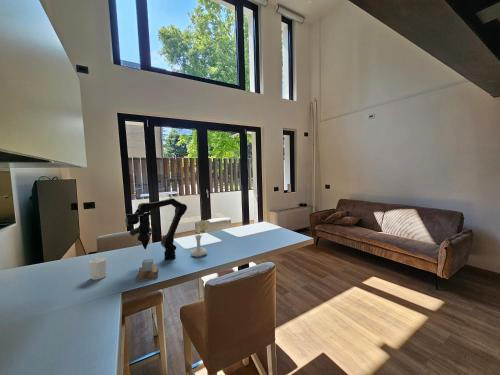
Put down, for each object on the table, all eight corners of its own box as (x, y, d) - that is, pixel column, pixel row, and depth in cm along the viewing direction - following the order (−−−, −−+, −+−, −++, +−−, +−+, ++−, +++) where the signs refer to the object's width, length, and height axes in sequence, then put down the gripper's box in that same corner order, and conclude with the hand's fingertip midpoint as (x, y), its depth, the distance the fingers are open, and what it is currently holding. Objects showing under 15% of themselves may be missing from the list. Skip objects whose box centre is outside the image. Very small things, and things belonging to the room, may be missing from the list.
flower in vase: (195, 259, 141) (193, 223, 140) (188, 255, 150) (186, 220, 148) (212, 254, 150) (210, 219, 148) (204, 250, 158) (203, 217, 157)
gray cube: (153, 266, 123) (152, 258, 123) (152, 270, 118) (151, 261, 118) (144, 268, 122) (143, 259, 121) (142, 271, 117) (141, 263, 116)
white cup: (92, 275, 122) (91, 258, 121) (108, 272, 125) (107, 256, 124) (88, 281, 115) (87, 263, 114) (105, 278, 118) (104, 261, 117)
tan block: (158, 270, 127) (158, 264, 126) (157, 278, 117) (157, 271, 117) (139, 274, 123) (139, 267, 123) (137, 282, 114) (137, 274, 113)
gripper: (133, 221, 139) (134, 244, 140) (127, 227, 122) (128, 253, 123) (151, 219, 143) (152, 241, 144) (148, 225, 125) (149, 250, 126)
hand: (146, 246), depth 134 cm, fingers open, 9 cm apart
